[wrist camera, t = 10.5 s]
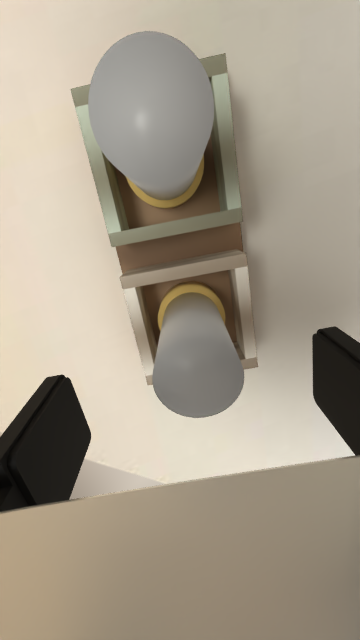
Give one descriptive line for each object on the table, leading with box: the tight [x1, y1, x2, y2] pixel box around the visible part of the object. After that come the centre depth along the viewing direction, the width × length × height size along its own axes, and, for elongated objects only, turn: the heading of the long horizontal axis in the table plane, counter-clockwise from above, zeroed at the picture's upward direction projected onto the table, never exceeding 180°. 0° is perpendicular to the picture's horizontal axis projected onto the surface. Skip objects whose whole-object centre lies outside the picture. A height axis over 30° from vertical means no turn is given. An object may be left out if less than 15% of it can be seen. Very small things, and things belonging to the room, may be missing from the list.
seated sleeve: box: [88, 31, 214, 209], centre depth 13 cm, size 5×5×10 cm
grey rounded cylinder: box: [152, 281, 244, 418], centre depth 17 cm, size 5×5×10 cm
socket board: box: [71, 53, 258, 385], centre depth 19 cm, size 20×9×4 cm, turn 11°
